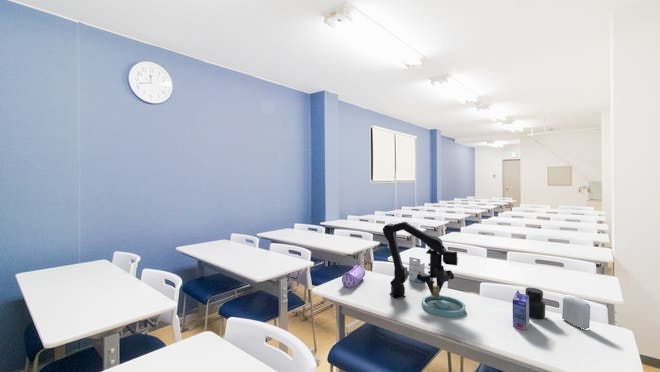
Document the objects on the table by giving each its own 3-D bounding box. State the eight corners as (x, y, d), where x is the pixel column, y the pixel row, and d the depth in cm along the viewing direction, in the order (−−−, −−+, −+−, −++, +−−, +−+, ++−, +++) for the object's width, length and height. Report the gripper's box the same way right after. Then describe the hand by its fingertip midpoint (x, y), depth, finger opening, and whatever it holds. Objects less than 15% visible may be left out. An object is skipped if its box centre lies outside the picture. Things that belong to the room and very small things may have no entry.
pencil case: (352, 276, 195) (352, 262, 194) (366, 278, 191) (366, 263, 191) (340, 288, 174) (340, 272, 174) (355, 290, 171) (356, 274, 170)
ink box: (424, 281, 186) (425, 258, 185) (420, 283, 183) (420, 259, 182) (413, 278, 192) (413, 255, 192) (408, 279, 189) (408, 256, 189)
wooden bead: (434, 296, 152) (434, 288, 151) (429, 294, 155) (429, 285, 155) (441, 296, 153) (441, 287, 153) (436, 293, 157) (436, 284, 156)
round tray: (439, 319, 136) (439, 314, 136) (414, 302, 155) (414, 297, 155) (474, 313, 142) (474, 308, 142) (446, 297, 161) (446, 293, 161)
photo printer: (591, 330, 127) (592, 301, 127) (583, 330, 127) (584, 302, 126) (568, 318, 138) (568, 292, 137) (560, 319, 137) (561, 292, 136)
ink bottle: (544, 313, 143) (545, 288, 142) (547, 321, 135) (548, 295, 134) (520, 309, 147) (521, 285, 147) (522, 316, 139) (522, 291, 139)
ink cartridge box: (514, 318, 138) (515, 287, 137) (529, 322, 134) (530, 290, 134) (511, 326, 130) (512, 293, 129) (526, 330, 126) (527, 297, 126)
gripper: (430, 268, 143) (429, 300, 144) (461, 265, 149) (461, 296, 149) (416, 262, 154) (416, 292, 154) (446, 259, 159) (446, 288, 160)
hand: (435, 292), depth 154 cm, fingers closed on wooden bead, 4 cm apart
